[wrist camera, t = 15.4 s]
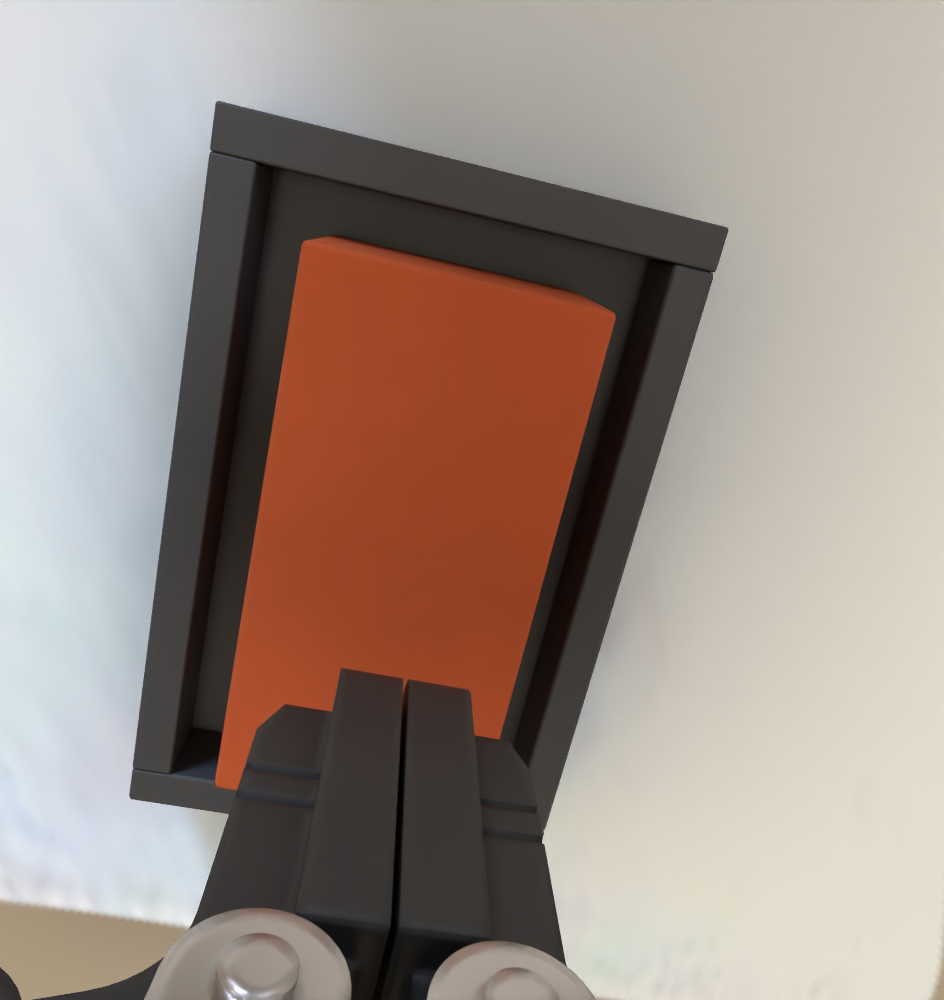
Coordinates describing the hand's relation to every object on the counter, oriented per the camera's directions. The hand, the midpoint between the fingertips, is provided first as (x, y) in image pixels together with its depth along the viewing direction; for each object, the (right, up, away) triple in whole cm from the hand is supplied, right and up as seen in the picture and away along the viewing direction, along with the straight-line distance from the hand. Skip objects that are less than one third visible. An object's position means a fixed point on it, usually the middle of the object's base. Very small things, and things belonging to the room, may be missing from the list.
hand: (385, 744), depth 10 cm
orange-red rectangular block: (0, +3, +9) cm, 9 cm away
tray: (-1, +3, +9) cm, 10 cm away
